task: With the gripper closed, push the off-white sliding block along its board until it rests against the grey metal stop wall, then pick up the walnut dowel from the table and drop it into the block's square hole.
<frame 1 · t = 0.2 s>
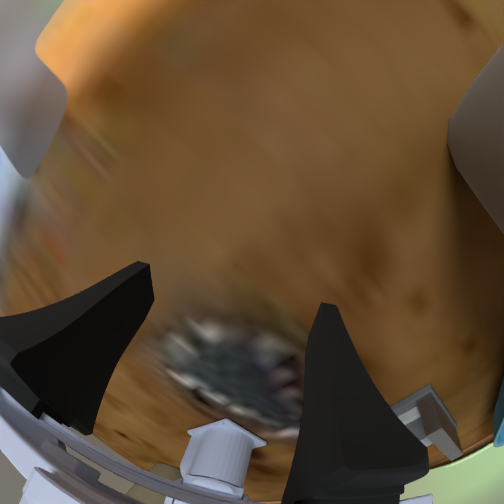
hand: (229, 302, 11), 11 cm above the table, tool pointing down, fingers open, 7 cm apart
vase: (476, 143, 15), on the table
slide board: (384, 439, 29), on the table
plant pot: (171, 469, 46), on the table
stop wall: (443, 431, 22), point 4 cm above the table
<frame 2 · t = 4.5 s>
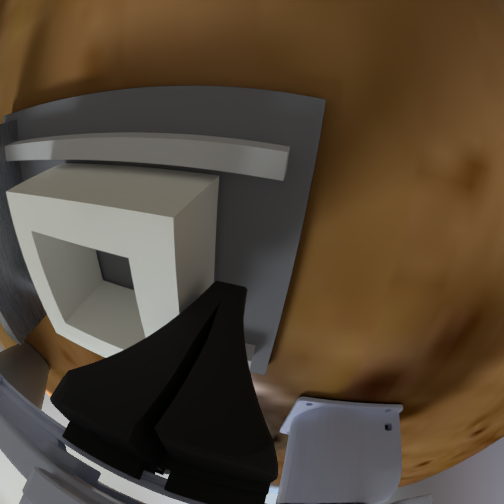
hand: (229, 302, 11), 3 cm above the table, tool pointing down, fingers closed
sliding block: (111, 272, 12), point 3 cm above the table, slide at 1.0 cm, touching gripper
vase: (36, 354, 32), on the table
slide board: (114, 235, 14), on the table
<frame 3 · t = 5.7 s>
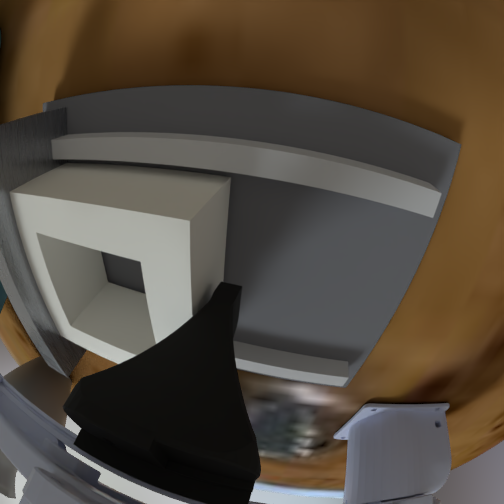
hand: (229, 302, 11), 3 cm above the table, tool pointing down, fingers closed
sliding block: (118, 275, 11), point 3 cm above the table, slide at 6.2 cm, touching gripper, stop wall
vase: (56, 368, 32), on the table
slide board: (204, 254, 14), on the table
stop wall: (40, 256, 12), point 4 cm above the table
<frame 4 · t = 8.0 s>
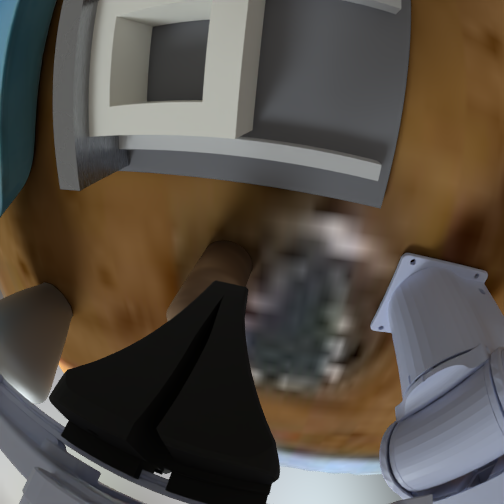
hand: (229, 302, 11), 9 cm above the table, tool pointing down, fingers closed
sliding block: (172, 55, 12), point 3 cm above the table, slide at 6.2 cm, touching stop wall
vase: (57, 299, 32), on the table
casserole dish: (10, 65, 15), on the table
slide board: (241, 60, 14), on the table
stop wall: (94, 68, 12), point 4 cm above the table
dowel: (227, 262, 22), on the table
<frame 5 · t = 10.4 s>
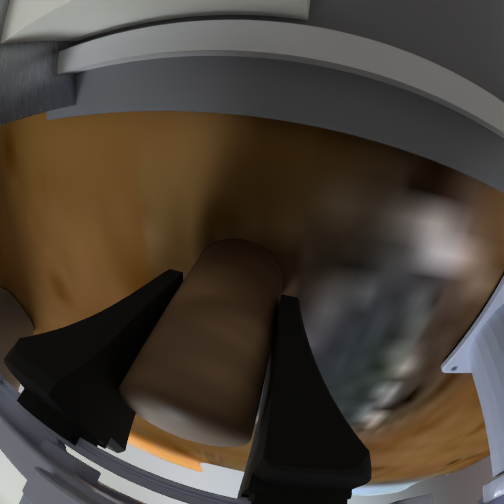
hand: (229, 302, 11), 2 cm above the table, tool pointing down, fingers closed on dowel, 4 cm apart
vase: (18, 309, 22), on the table
dowel: (238, 278, 12), on the table, touching gripper
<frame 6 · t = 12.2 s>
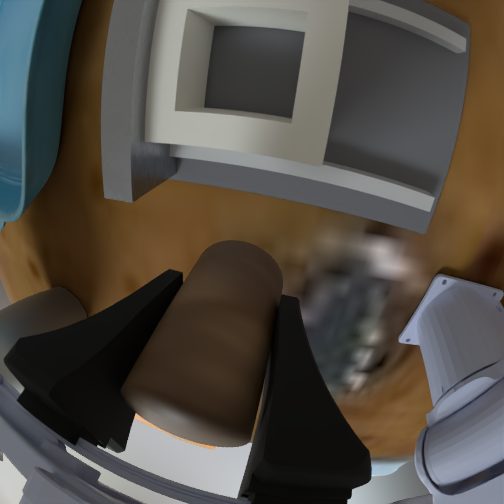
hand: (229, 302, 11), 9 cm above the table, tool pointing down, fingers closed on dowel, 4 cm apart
sliding block: (246, 63, 11), point 3 cm above the table, slide at 6.2 cm, touching stop wall
vase: (71, 304, 32), on the table
casserole dish: (29, 50, 14), on the table
slide board: (309, 77, 14), on the table
stop wall: (148, 63, 12), point 4 cm above the table
dowel: (238, 279, 12), point 8 cm above the table, touching gripper
when the fingers open (5 cm above the table, at t = 14.1 s): dowel drops 3 cm, resting on slide board.
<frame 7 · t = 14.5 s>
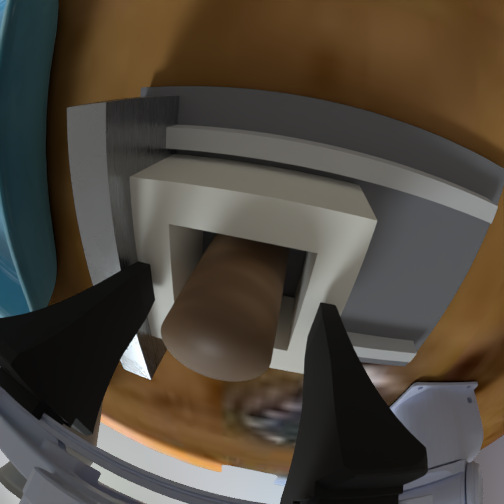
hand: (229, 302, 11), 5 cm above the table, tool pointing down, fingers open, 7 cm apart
sliding block: (244, 269, 13), point 3 cm above the table, slide at 6.2 cm, touching stop wall
vase: (87, 370, 33), on the table
casserole dish: (5, 143, 16), on the table
slide board: (312, 250, 15), on the table
stop wall: (137, 251, 13), point 4 cm above the table
dowel: (251, 247, 15), point 1 cm above the table, touching slide board
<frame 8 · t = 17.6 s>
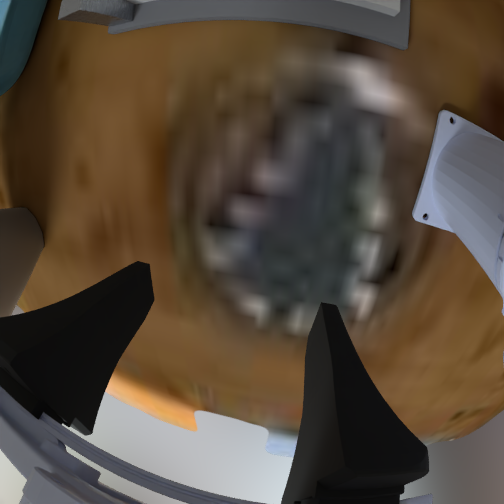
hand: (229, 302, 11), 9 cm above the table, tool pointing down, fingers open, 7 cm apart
vase: (30, 229, 26), on the table
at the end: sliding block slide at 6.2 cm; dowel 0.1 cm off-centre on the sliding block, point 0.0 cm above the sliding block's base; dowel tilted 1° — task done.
